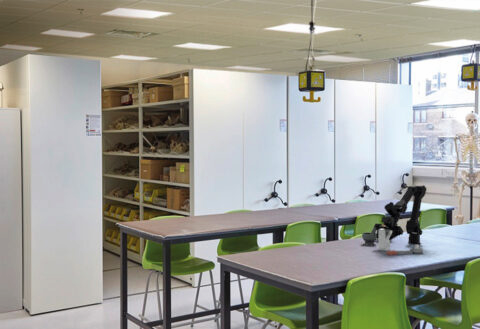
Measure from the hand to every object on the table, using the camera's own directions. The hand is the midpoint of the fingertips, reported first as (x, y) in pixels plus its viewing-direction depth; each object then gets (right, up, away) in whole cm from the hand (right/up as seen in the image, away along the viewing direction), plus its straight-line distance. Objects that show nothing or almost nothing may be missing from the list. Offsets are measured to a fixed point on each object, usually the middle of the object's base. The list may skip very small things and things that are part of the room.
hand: (383, 239), depth 372 cm
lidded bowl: (+10, -5, +39) cm, 41 cm away
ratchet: (+11, -7, -12) cm, 17 cm away
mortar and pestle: (-3, -6, +24) cm, 25 cm away
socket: (+1, -7, +1) cm, 7 cm away
